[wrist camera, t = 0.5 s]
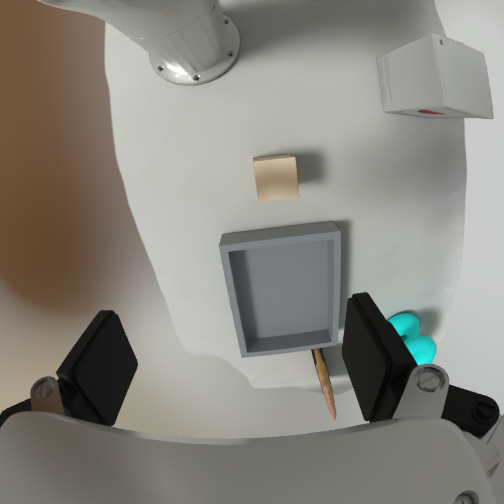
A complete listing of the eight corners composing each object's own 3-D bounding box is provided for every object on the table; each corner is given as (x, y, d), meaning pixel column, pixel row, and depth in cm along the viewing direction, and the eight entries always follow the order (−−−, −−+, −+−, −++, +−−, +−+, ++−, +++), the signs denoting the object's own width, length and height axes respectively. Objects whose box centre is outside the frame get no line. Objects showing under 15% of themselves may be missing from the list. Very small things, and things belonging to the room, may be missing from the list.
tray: (222, 234, 40) (219, 245, 35) (331, 221, 39) (340, 230, 35) (242, 340, 47) (241, 357, 43) (331, 328, 47) (337, 345, 42)
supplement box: (382, 113, 32) (444, 107, 19) (375, 58, 29) (431, 29, 15) (429, 119, 32) (495, 121, 18) (423, 67, 29) (484, 52, 15)
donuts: (447, 350, 38) (411, 386, 41) (424, 319, 47) (393, 354, 50) (420, 336, 36) (380, 378, 39) (396, 303, 45) (363, 341, 48)
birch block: (252, 157, 35) (253, 161, 28) (285, 153, 35) (295, 157, 28) (256, 189, 37) (258, 202, 30) (289, 185, 37) (299, 197, 30)
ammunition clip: (309, 344, 48) (321, 393, 37) (319, 341, 48) (333, 389, 37) (319, 377, 52) (330, 423, 41) (328, 374, 52) (340, 420, 41)
